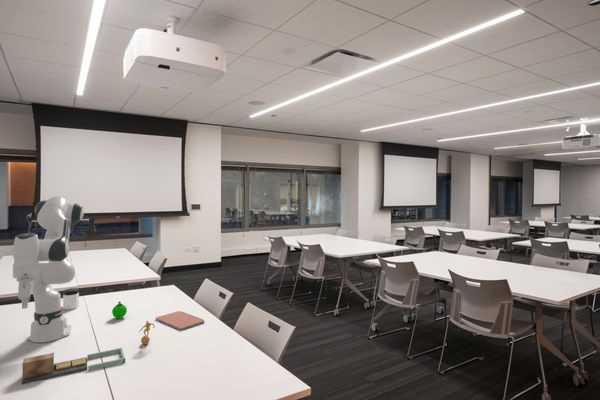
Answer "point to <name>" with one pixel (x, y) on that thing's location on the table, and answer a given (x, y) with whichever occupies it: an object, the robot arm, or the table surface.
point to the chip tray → (108, 363)
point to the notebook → (180, 320)
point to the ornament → (119, 310)
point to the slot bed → (56, 373)
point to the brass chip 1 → (63, 366)
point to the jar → (71, 299)
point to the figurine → (145, 338)
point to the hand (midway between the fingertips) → (25, 305)
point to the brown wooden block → (38, 365)
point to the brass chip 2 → (78, 362)
